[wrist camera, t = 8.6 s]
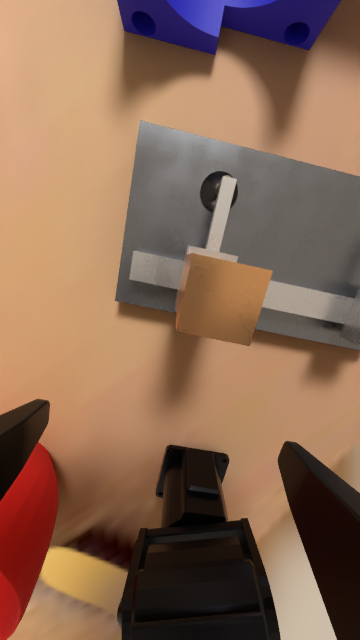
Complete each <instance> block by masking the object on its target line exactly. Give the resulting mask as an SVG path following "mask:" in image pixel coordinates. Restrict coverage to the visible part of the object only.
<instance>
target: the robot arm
mask: <svg viewBox="0 0 360 640" xmlns="http://www.w3.org/2000/svg"><path fill="white" fill-rule="evenodd" d="M49 409H50V403H49V401H48V400H42V399H36V400H34V401H31V402H29V403H27V404H25V405H22V406H20V407H18V408H16V409H13V410H11V411H9V412H6V413H4V414H2V415H0V501H1V500H2V499H3V497H4V496H5V494H6V493H7V491H8V490H9V488H10V487H11V485H12V484H13V483H14V481H15V480H16V478H17V477H18V475H19V474H20V472H21V471H22V469H23V467H24V466H25V464H26V462H27V461H28V459H29V457H30V455H31V453H32V452H33V450H34V448H35V446H36V444H37V443H38V441H39V439H40V437H41V436H42V434H43V432H44V430H45V428H46V426H47V424H48V421H49ZM170 450H172V451H170ZM228 464H229V457H228V455H227V454H224V453H218V452H212V451H206V450H199V449H193V448H187V447H181V446H175V445H169V446H167V448H166V451H165V455H164V460H163V464H162V468H161V472H160V476H159V480H158V485H157V489H156V495H157V496H158V497H161V498H163V508H162V525H161V528H154V529H147V528H140V531H139V535H138V540H136V543H135V547H134V551H133V555H132V559H131V563H130V567H129V571H128V575H127V580H126V584H125V588H124V592H123V596H122V599H121V602H120V604H119V607H118V612H117V621H118V623H119V625H120V627H121V629H122V640H281V639H280V632H279V627H278V620H277V616H276V611H275V606H274V602H273V597H272V593H271V590H270V585H269V582H268V578H267V575H266V572H265V568H264V565H263V563H262V560H261V557H260V554H259V551H258V548H257V545H256V542H255V539H254V536H253V533H252V530H251V527H250V524H249V521H248V519H247V518H242V519H241V520H236V521H228V516H227V511H226V506H225V501H224V496H223V491H222V482H223V479H224V476H225V473H226V470H227V467H228ZM278 465H279V469H280V473H281V476H282V480H283V484H284V488H285V492H286V495H287V499H288V503H289V506H290V509H291V512H292V515H293V518H294V520H295V524H296V526H297V529H298V532H299V535H300V537H301V540H302V543H303V546H304V549H305V552H306V554H307V557H308V560H309V563H310V565H311V568H312V571H313V574H314V576H315V579H316V582H317V585H318V588H319V590H320V593H321V596H322V599H323V602H324V604H325V607H326V610H327V613H328V616H329V618H330V621H331V624H332V627H333V629H334V632H335V635H336V638H337V640H360V493H359V492H357V491H356V490H355V489H354V488H352V487H351V486H350V485H349V484H347V483H346V482H345V481H344V480H342V479H341V478H340V477H339V476H338V475H336V474H335V473H334V472H333V471H331V470H330V469H329V468H328V467H326V466H325V465H324V464H323V463H321V462H320V461H319V460H318V459H316V458H315V457H314V456H313V455H311V454H310V453H309V452H308V451H306V450H305V449H304V448H303V447H302V446H300V445H299V444H298V443H296V442H291V441H286V442H284V444H283V447H282V449H281V452H280V454H279V457H278Z"/></svg>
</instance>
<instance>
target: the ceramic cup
mask: <svg viewBox="0 0 360 640" xmlns="http://www.w3.org/2000/svg"><path fill="white" fill-rule="evenodd" d="M57 509H58V483H57V477H56V473H55V470H54V467H53V464H52V459H51V456H50V455H49V453H48V451H47V450H46V449H45V448H44V447H43V446H42V445H41V444H39V443H37V444H36V446H35V448H34V450H33V452H32V453H31V455H30V457H29V459H28V461H27V462H26V464H25V466H24V467H23V469H22V471H21V472H20V474H19V475H18V477H17V478H16V480H15V481H14V483H13V484H12V485H11V487H10V488H9V490H8V491H7V493H6V494H5V496H4V497H3V499H2V500H1V501H0V640H7V639H8V638H9V637H10V636H11V635H12V634H13V633H14V631H15V629H16V628H17V626H18V624H19V622H20V621H21V619H22V617H23V615H24V613H25V610H26V608H27V605H28V603H29V601H30V598H31V595H32V593H33V590H34V588H35V585H36V582H37V580H38V577H39V574H40V572H41V569H42V566H43V563H44V560H45V557H46V554H47V551H48V548H49V545H50V541H51V538H52V534H53V530H54V525H55V521H56V515H57Z"/></svg>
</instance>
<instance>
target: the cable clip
mask: <svg viewBox="0 0 360 640" xmlns="http://www.w3.org/2000/svg"><path fill="white" fill-rule="evenodd" d="M117 2H118V6H119V10H120V14H121V19H122V23H123V27H124V31H127V32H130V33H134V34H138V35H142V36H145V37H149V38H153V39H157V40H160V41H164V42H168V43H172V44H175V45H179V46H183V47H187V48H190V49H194V50H198V51H202V52H206V53H209V54H213V55H215V53H216V48H217V43H218V38H219V32H220V27H221V26H222V27H226V28H230V29H233V30H237V31H241V32H244V33H248V34H252V35H255V36H259V37H262V38H266V39H270V40H273V41H277V42H281V43H284V44H288V45H291V46H295V47H299V48H302V49H306V50H310V48H311V46H312V45H313V43H314V42H315V40H316V39H317V37H318V36H319V34H320V33H321V31H322V29H323V28H324V26H325V25H326V23H327V22H328V20H329V19H330V17H331V15H332V14H333V12H334V11H335V9H336V8H337V6H338V5H339V3H340V2H341V0H117Z"/></svg>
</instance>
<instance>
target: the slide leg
mask: <svg viewBox="0 0 360 640" xmlns="http://www.w3.org/2000/svg"><path fill="white" fill-rule="evenodd" d="M236 181H237V179H234V178H232V177H231V176H229V175H226V176H223V177H222V179H221V180H220V183H219V185H218V186H217V188H216V194H217V198H216V202H215V206H214V211H213V215H212V219H211V224H210V228H209V233H208V237H207V241H206V246H205V249H203V248H198V247H194V246H189V245H188V246H187V248H186V253H185V258H184V262H183V267H182V272H181V277H180V282H179V286H178V291H177V296H176V301H175V311H176V332H181V333H186V334H191V335H196V336H201V337H206V338H211V339H217V340H222V341H227V342H232V343H237V344H242V345H247V346H250V343H251V340H252V337H253V334H254V330H255V327H256V324H257V321H258V318H259V314H260V311H261V308H262V305H263V302H264V298H265V295H266V292H267V289H268V285H269V282H270V279H271V276H272V273H273V271H272V270H267V269H263V268H258V267H254V266H249V265H245V264H240V263H237V259H238V256H234V255H230V254H225V253H221V252H219V250H220V246H221V242H222V238H223V234H224V230H225V226H226V222H227V218H228V214H229V210H230V206H231V201H232V197H233V193H234V189H235V185H236Z"/></svg>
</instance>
